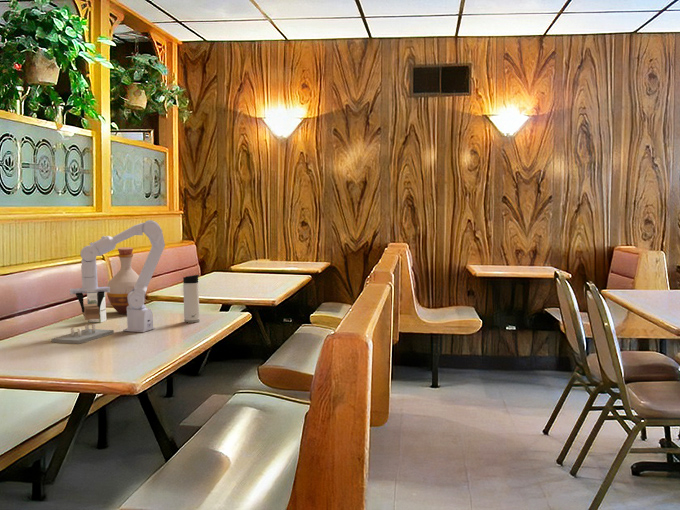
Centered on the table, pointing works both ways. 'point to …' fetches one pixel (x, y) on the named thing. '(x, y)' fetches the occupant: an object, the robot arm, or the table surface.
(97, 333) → the peg plate
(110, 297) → the jug
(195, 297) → the travel mug
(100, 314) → the syrup box
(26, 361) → the table surface
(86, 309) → the copper brown rectangular block
